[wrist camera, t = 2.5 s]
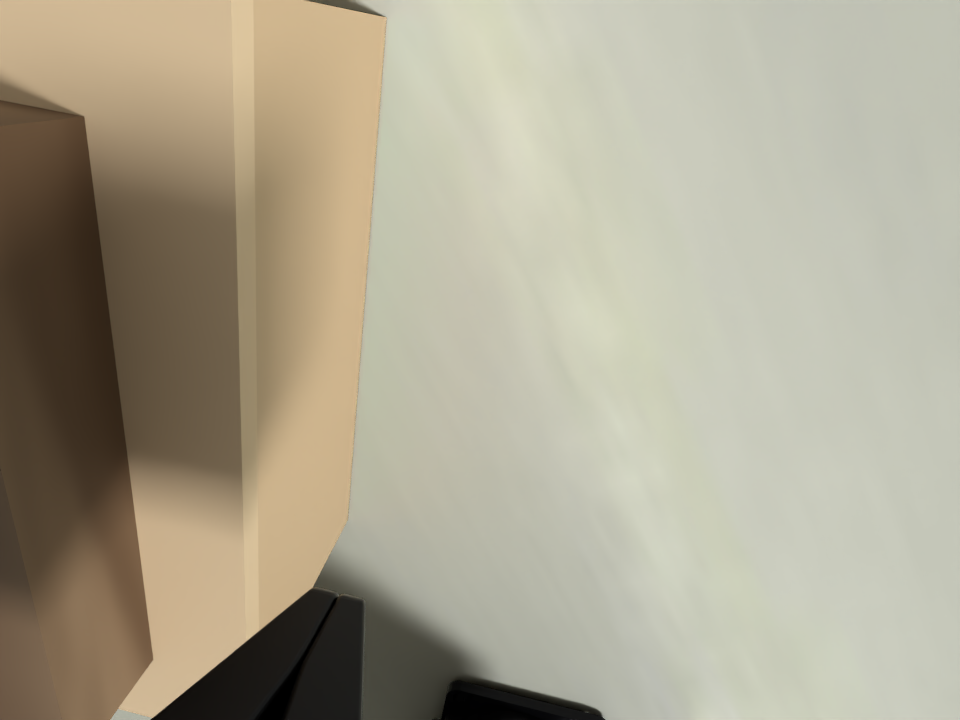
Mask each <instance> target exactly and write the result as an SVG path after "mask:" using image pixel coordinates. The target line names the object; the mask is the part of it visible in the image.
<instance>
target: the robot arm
mask: <svg viewBox="0 0 960 720" xmlns="http://www.w3.org/2000/svg"><path fill="white" fill-rule="evenodd" d="M365 613H366V602H365V600H364V599H363V598H359V597H355V596H351V595H347V594H341V595H340V596H339V594H338V593H337V592H335V591H331V590H327V589H323V588H319V587H314V588H311V589H310V590H308V591H307V592H306V593H305V594H304V595H302V596H301V597H300V598H299V599H297V600H296V601H295V602H294V603H293V604H291V605H290V606H289V607H288V608H286V609H285V610H284V611H283V612H282V613H280V614H279V615H278V616H277V617H275V618H274V619H273V620H272V621H271V622H269V623H268V624H267V625H266V626H264V627H263V628H262V629H261V630H260V631H258V632H257V633H256V634H255V635H253V636H252V637H251V638H250V639H249V640H247V641H246V642H245V643H244V644H242V645H241V646H240V647H239V648H238V649H236V650H235V651H234V652H233V653H231V654H230V655H229V656H228V657H227V658H225V659H224V660H223V661H222V662H220V663H219V664H218V665H217V666H216V667H214V668H213V669H212V670H211V671H209V672H208V673H207V674H206V675H205V676H203V677H202V678H201V679H200V680H198V681H197V682H196V683H195V684H194V685H192V686H191V687H190V688H189V689H187V690H186V691H185V692H184V693H183V694H181V695H180V696H179V697H178V698H176V699H175V700H174V701H173V702H172V703H170V704H169V705H168V706H167V707H165V708H164V709H163V710H162V711H160V712H159V713H158V714H157V715H156V716H154V717H153V718H152V719H151V720H362V712H363V679H364V646H365ZM433 720H605V719H604V718H603V717H600V716H597V715H593V714H589V713H585V712H582V711H578V710H574V709H570V708H566V707H562V706H558V705H554V704H550V703H546V702H542V701H538V700H534V699H530V698H526V697H522V696H518V695H514V694H510V693H506V692H502V691H498V690H494V689H490V688H486V687H482V686H478V685H474V684H470V683H466V682H462V681H454V682H452V683H450V684H449V686H448V690H447V694H446V699H445V704H444V709H443V714H442V718H441V719H437V718H434V719H433Z"/></svg>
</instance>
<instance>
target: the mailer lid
mask: <svg viewBox="0 0 960 720" xmlns="http://www.w3.org/2000/svg"><path fill="white" fill-rule="evenodd" d="M258 631H259V571H258V461H257V351H256V240H255V130H254V20H253V0H0V720H110V719H111V718H112V716H113V715H114V713H115V712H116V711H117V709H121V710H125V711H128V712H132V713H136V714H140V715H143V716H147V717H151V718H153V717H154V716H156V715H157V714H158V713H159V712H160V711H162V710H163V709H164V708H165V707H167V706H168V705H169V704H170V703H172V702H173V701H174V700H175V699H176V698H178V697H179V696H180V695H181V694H183V693H184V692H185V691H186V690H187V689H189V688H190V687H191V686H192V685H194V684H195V683H196V682H197V681H198V680H200V679H201V678H202V677H203V676H205V675H206V674H207V673H208V672H209V671H211V670H212V669H213V668H214V667H216V666H217V665H218V664H219V663H220V662H222V661H223V660H224V659H225V658H227V657H228V656H229V655H230V654H231V653H233V652H234V651H235V650H236V649H238V648H239V647H240V646H241V645H242V644H244V643H245V642H246V641H247V640H249V639H250V638H251V637H252V636H253V635H255V634H256V633H257V632H258Z"/></svg>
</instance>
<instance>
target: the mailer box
mask: <svg viewBox="0 0 960 720" xmlns="http://www.w3.org/2000/svg"><path fill="white" fill-rule="evenodd" d="M386 19H387V17H382V16H377V15H372V14H367V13H363V12H358V11H353V10H348V9H344V8H339V7H334V6H329V5H324V4H320V3H315V2H310V1H305V0H253V20H254V130H255V240H256V351H257V461H258V571H259V631H260V630H261V629H262V628H263V627H264V626H266V625H267V624H268V623H269V622H271V621H272V620H273V619H274V618H275V617H277V616H278V615H279V614H280V613H282V612H283V611H284V610H285V609H286V608H288V607H289V606H290V605H291V604H293V603H294V602H295V601H296V600H297V599H299V598H300V597H301V596H302V595H304V594H305V593H306V592H307V591H308V590H310V589H311V588H313V586H314V584H315V582H316V580H317V578H318V576H319V574H320V572H321V570H322V568H323V567H324V565H325V563H326V561H327V559H328V557H329V555H330V553H331V551H332V549H333V547H334V545H335V544H336V542H337V540H338V538H339V536H340V534H341V532H342V530H343V528H344V526H345V524H346V522H347V521H348V510H349V497H350V484H351V471H352V458H353V445H354V432H355V419H356V406H357V393H358V381H359V368H360V355H361V342H362V329H363V316H364V303H365V290H366V277H367V264H368V251H369V239H370V226H371V213H372V200H373V187H374V174H375V161H376V148H377V135H378V122H379V109H380V96H381V84H382V71H383V58H384V45H385V32H386Z"/></svg>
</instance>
